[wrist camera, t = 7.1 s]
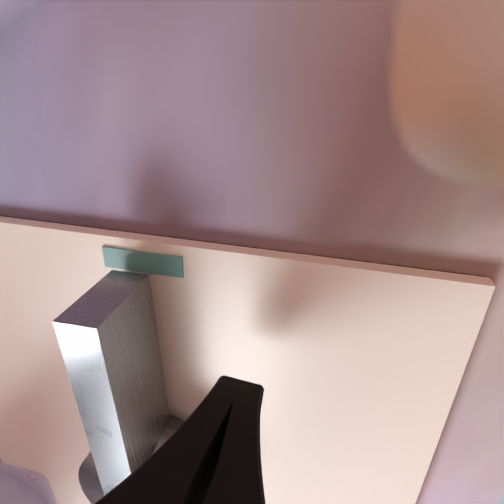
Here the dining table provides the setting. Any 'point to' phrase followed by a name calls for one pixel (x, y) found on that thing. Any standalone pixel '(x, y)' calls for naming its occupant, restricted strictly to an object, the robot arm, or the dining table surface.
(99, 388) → the twist lock
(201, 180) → the dining table surface
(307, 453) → the base
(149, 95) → the dining table surface
